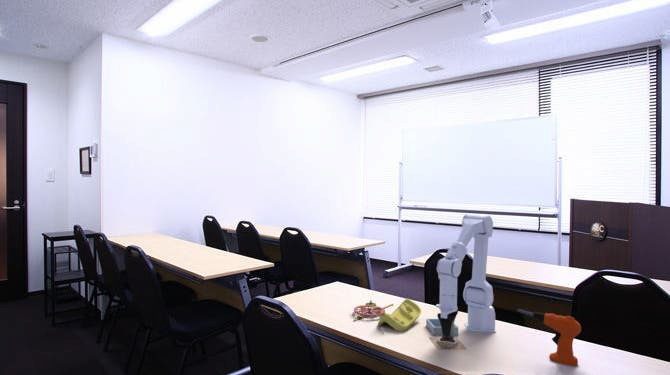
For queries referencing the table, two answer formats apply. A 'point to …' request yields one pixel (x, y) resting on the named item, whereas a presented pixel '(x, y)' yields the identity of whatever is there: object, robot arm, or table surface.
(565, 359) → the toy drill
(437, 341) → the socket plate
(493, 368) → the table surface
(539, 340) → the table surface
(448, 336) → the cylinder with rectangular bar
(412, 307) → the plastic component
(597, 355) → the table surface
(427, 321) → the bin
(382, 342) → the table surface
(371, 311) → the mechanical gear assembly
